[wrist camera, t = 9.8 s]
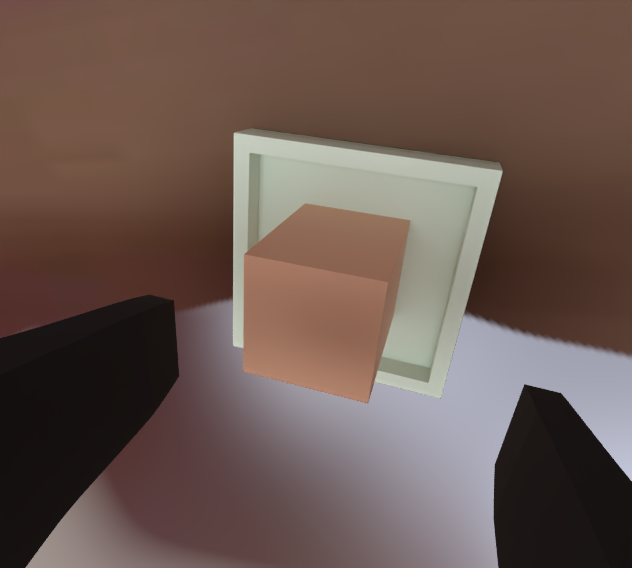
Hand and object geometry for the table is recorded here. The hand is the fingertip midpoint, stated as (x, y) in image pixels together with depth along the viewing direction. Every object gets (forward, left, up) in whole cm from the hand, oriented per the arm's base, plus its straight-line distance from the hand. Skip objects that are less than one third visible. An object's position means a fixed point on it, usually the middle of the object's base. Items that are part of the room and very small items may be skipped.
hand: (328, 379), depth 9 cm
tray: (+1, +1, -9) cm, 9 cm away
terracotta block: (+1, +1, -9) cm, 9 cm away
